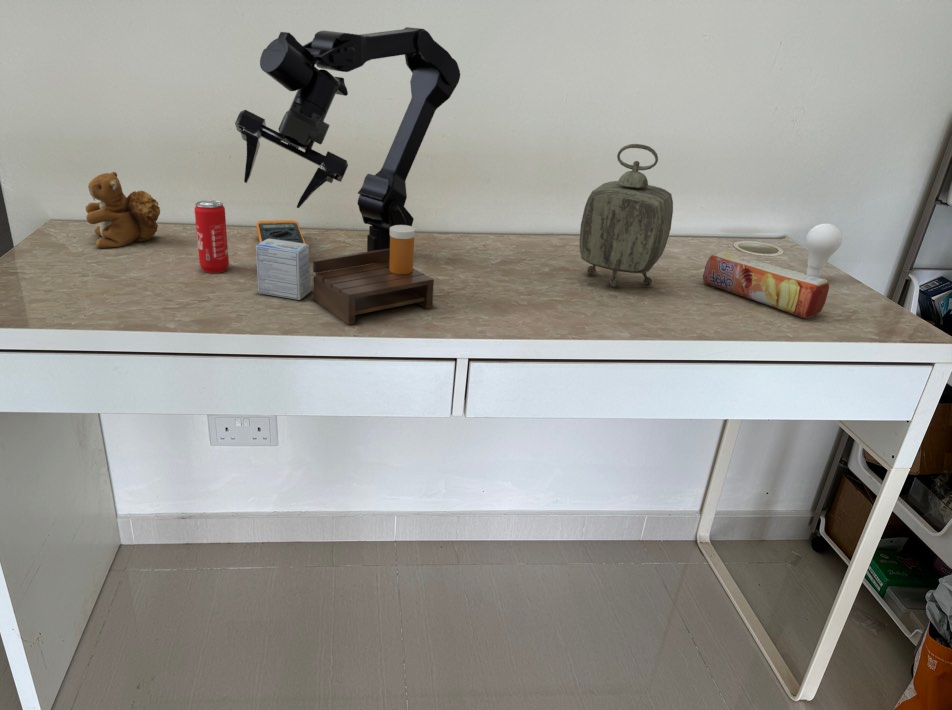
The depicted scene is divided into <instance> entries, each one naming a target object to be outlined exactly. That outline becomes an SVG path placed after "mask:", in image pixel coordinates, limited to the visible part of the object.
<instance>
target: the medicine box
mask: <svg viewBox="0 0 952 710" xmlns="http://www.w3.org/2000/svg"><path fill="white" fill-rule="evenodd" d="M255 257H256V274H257V288H258V289H257V290H258V294H259V295H265V296H266V295H267V296H272V297H280V298H285V299H291V300H297V301H301V300H302V299H303V298H305V297H306V296H307V295H308V294H310V293H311V292H312V291H311V290H312V289H311V287H312V286H311V262H310V260H311V259H310V245H309V244H308V243H306V244H303V243H297V242H290V241H283V240H276V239H266V240H264V241H262V242H261V243H260V242H259V243H257V244H256V245H255Z"/></svg>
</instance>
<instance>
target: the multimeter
mask: <svg viewBox="0 0 952 710" xmlns="http://www.w3.org/2000/svg"><path fill="white" fill-rule="evenodd" d="M255 225H256V227H255V228H256V235H257V238H258V241H259V243H261V242H262V241H264V240H266V239H276V240H283V241H290V242H297V243H303V244H307V243H306V240H305V238H304V235H303V234H302V233H303V232H302V231H301V227H300V224H299V222H298V221H296V220H294V219H286V220H285V219H284V220H283V219H282V220H279V219H277V220H259V221H257V222H256V224H255Z"/></svg>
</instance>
